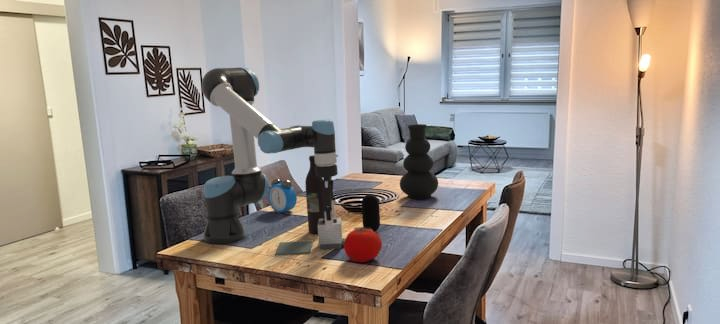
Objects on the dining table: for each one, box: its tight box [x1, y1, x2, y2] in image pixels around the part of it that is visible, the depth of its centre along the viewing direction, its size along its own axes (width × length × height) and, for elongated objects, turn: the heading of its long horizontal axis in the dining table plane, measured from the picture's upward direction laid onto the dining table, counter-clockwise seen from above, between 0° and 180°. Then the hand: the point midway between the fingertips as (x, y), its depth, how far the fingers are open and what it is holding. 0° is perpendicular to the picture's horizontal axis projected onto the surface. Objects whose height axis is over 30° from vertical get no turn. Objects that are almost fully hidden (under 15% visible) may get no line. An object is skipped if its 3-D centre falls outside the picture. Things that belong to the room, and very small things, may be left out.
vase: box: [399, 123, 439, 200], centre depth 243 cm, size 18×18×35 cm
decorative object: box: [361, 193, 381, 233], centre depth 193 cm, size 7×7×15 cm
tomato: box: [343, 228, 383, 263], centre depth 165 cm, size 11×12×10 cm
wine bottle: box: [305, 154, 325, 235], centre depth 196 cm, size 7×7×30 cm
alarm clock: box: [267, 178, 298, 214], centre depth 231 cm, size 13×6×15 cm, turn 53°
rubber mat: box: [274, 240, 313, 256], centre depth 180 cm, size 12×12×1 cm
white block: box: [317, 217, 343, 245], centre depth 180 cm, size 8×8×7 cm
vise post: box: [319, 214, 373, 251], centre depth 180 cm, size 19×8×11 cm, turn 91°
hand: (330, 223), depth 180 cm, fingers open, 13 cm apart
